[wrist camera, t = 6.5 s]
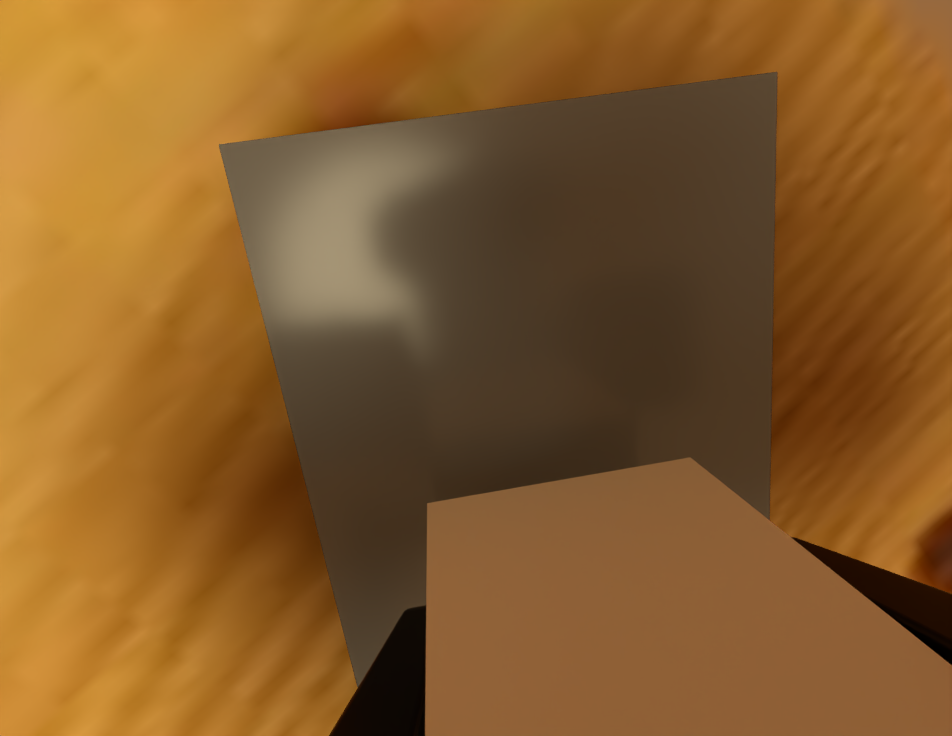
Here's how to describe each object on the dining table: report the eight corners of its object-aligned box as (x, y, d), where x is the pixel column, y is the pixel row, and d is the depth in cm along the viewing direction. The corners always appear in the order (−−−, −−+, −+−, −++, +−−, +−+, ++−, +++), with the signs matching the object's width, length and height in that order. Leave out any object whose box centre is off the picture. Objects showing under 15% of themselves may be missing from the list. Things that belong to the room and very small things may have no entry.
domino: (692, 531, 9) (1113, 982, 4) (440, 577, 9) (461, 1146, 3) (690, 457, 9) (1159, 831, 3) (427, 503, 9) (422, 1005, 3)
